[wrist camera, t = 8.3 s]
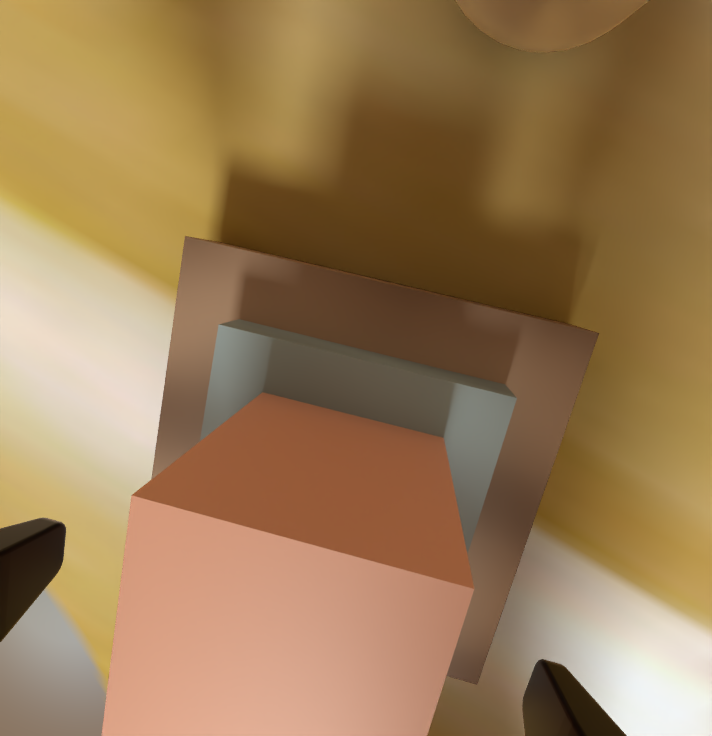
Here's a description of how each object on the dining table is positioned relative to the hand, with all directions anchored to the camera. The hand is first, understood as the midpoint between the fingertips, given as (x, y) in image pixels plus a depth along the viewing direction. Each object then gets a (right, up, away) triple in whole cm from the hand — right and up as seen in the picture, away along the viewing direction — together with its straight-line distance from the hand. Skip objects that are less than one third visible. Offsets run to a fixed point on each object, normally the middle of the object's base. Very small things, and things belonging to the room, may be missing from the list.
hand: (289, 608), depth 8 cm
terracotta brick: (+1, +1, +4) cm, 5 cm away
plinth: (+1, +2, +8) cm, 9 cm away
